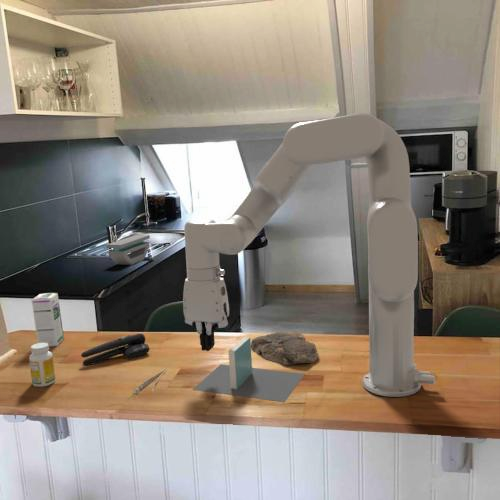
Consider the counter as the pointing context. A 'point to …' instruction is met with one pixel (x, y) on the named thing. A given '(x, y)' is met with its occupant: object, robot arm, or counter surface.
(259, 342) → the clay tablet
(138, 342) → the can opener
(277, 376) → the mat
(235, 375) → the tile
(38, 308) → the syrup box
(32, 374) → the supplement bottle
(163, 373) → the old metal nails
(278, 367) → the counter surface
